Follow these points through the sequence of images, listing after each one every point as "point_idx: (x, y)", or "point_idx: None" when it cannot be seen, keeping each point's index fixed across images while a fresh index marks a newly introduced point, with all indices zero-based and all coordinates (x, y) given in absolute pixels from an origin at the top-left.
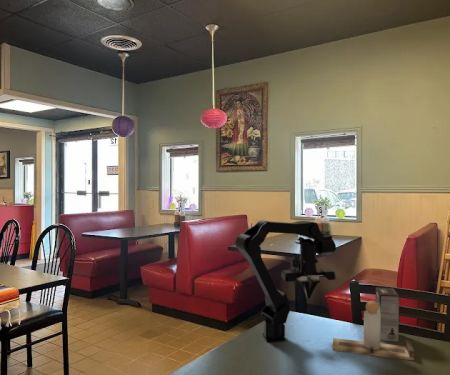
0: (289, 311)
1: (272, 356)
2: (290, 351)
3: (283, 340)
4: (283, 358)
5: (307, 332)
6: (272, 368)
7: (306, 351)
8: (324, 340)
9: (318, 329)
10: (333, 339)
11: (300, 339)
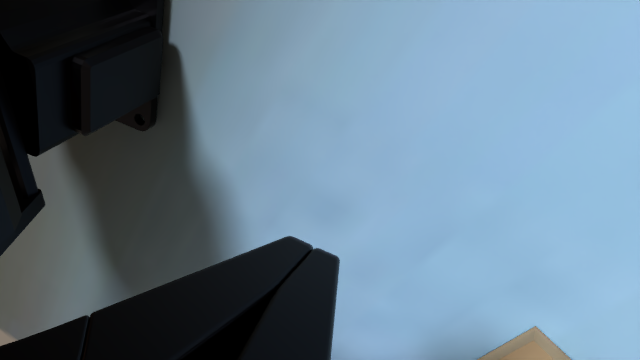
0: (9, 235)
1: (32, 246)
2: (139, 260)
3: (140, 127)
4: (79, 293)
5: (436, 75)
6: (12, 325)
7: None
8: (461, 284)
9: (624, 68)
10: (508, 358)
11: (283, 164)
